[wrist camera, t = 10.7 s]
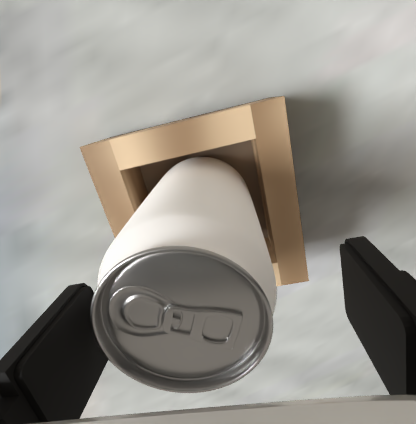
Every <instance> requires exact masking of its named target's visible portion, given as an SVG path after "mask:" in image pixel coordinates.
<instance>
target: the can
mask: <svg viewBox="0 0 416 424" xmlns="http://www.w3.org/2000/svg"><path fill="white" fill-rule="evenodd" d="M276 299H277V287H276V279H275V274H274V270H273V266H272V262H271V259H270V255H269V252H268V249H267V246H266V242H265V239H264V236H263V233H262V230H261V226H260V223H259V220H258V217H257V214H256V211H255V208H254V205H253V202H252V199H251V196H250V193H249V190H248V187H247V185H246V183H245V181H244V179H243V178H242V177H241V175H240V174H239V173H238V172H237V171H236V170H235V169H234V168H233V167H232V166H230V165H229V164H227V163H225V162H223V161H221V160H218V159H215V158H210V157H194V158H190V159H186V160H184V161H182V162H180V163H178V164H176V165H175V166H173V167H172V168H171V169H170V170H169V171H168V172H167V173H166V174H165V175H164V176H163V177H162V179H161V180H160V181H159V182H158V184H157V185H156V186H155V187H154V189H153V190H152V191H151V192H150V194H149V195H148V196H147V197H146V199H145V200H144V201H143V203H142V204H141V205H140V206H139V208H138V209H137V210H136V212H135V213H134V214H133V215H132V217H131V218H130V219H129V221H128V222H127V223H126V225H125V226H124V227H123V229H122V230H121V231H120V232H119V234H118V235H117V237H116V238H115V239H114V241H113V242H112V244H111V245H110V247H109V248H108V250H107V252H106V254H105V256H104V258H103V260H102V263H101V266H100V269H99V274H98V283H97V288H96V290H95V293H94V295H93V298H92V302H91V309H90V320H91V327H92V331H93V334H94V337H95V339H96V342H97V344H98V346H99V347H100V349H101V350H102V352H103V353H104V355H105V356H106V357H107V358H108V359H109V361H110V362H111V363H112V364H113V365H114V366H116V367H117V368H118V369H119V370H120V371H122V372H123V373H124V374H126V375H127V376H129V377H131V378H132V379H134V380H136V381H138V382H140V383H142V384H145V385H147V386H150V387H153V388H156V389H160V390H165V391H170V392H178V393H198V392H206V391H211V390H216V389H219V388H222V387H225V386H228V385H230V384H232V383H234V382H236V381H238V380H240V379H241V378H243V377H244V376H246V375H247V374H248V373H250V372H251V371H252V370H253V369H254V368H255V367H256V366H257V365H258V364H259V363H260V361H261V360H262V359H263V357H264V355H265V354H266V352H267V350H268V348H269V345H270V342H271V339H272V334H273V313H274V310H275V305H276Z"/></svg>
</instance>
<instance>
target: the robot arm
mask: <svg viewBox="0 0 416 424" xmlns="http://www.w3.org/2000/svg"><path fill="white" fill-rule="evenodd" d="M340 256H341V267H342V277H343V288H344V299H345V309H346V314H347V317H348V319H349V321H350V323H351V325H352V326H353V328H354V330H355V332H356V334H357V336H358V337H359V339H360V341H361V343H362V345H363V346H364V348H365V350H366V352H367V354H368V356H369V357H370V359H371V361H372V363H373V365H374V367H375V368H376V370H377V372H378V374H379V376H380V377H381V379H382V381H383V383H384V385H385V387H386V388H387V390H388V392H389V394H390V395H371V396H354V397H339V398H323V399H308V400H295V401H282V402H270V403H257V404H245V405H233V406H220V407H208V408H196V409H185V410H173V411H162V412H150V413H139V414H128V415H116V416H105V417H94V418H84V419H79V418H80V416H81V414H82V412H83V410H84V408H85V406H86V404H87V402H88V400H89V398H90V396H91V394H92V392H93V390H94V388H95V386H96V384H97V382H98V380H99V378H100V376H101V374H102V371H103V369H104V367H105V365H106V363H107V361H108V358H107V357H106V356H105V355H104V353H103V352H102V350H101V349H100V347H99V346H98V344H97V342H96V339H95V337H94V334H93V331H92V327H91V320H90V309H91V302H92V298H93V295H94V292H93V290H92V288H91V287H90V286H87V285H86V284H85V283H81V284H75V285H70V286H68V287H67V288H66V289H65V290H64V291H63V292H62V293H61V294H60V295H59V297H58V298H57V299H56V300H55V301H54V302H53V303H52V304H51V305H50V306H49V307H48V309H47V310H46V311H45V312H44V313H43V314H42V315H41V316H40V317H39V318H38V319H37V321H36V322H35V323H34V324H33V325H32V326H31V327H30V328H29V329H28V330H27V331H26V333H25V334H24V335H23V336H22V337H21V338H20V339H19V340H18V341H17V342H16V343H15V345H14V346H13V347H12V348H11V349H10V350H9V351H8V352H7V353H6V354H5V355H4V357H3V358H2V359H1V360H0V424H416V280H415V279H414V278H413V277H412V276H411V275H410V274H409V273H407V272H406V271H399V270H398V269H397V268H396V267H395V266H394V265H393V264H392V263H391V262H390V261H389V260H388V259H387V258H386V257H385V256H384V255H383V254H382V253H381V252H380V251H379V250H378V249H377V248H376V247H375V246H374V245H373V244H372V243H371V242H370V241H369V240H368V239H367V238H366V237H364V236H362V237H356V238H350V239H346V240H345V244H341V245H340Z"/></svg>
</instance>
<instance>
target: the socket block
mask: <svg viewBox="0 0 416 424" xmlns="http://www.w3.org/2000/svg"><path fill="white" fill-rule="evenodd" d="M80 149H81V152H82V155H83V157H84V160H85V162H86V165H87V167H88V170H89V172H90V175H91V178H92V180H93V183H94V185H95V188H96V190H97V193H98V196H99V198H100V201H101V203H102V206H103V208H104V211H105V214H106V216H107V219H108V221H109V224H110V226H111V229H112V232H113V234H114V237H115V238H116V237H117V235H118V234H119V232H120V231H121V230H122V229H123V227H124V226H125V225H126V223H127V222H128V221H129V219H130V218H131V217H132V215H133V214H134V213H135V212H136V210H137V209H138V208H139V206H140V205H141V204H142V203H143V201H144V200H145V199H146V197H147V196H148V195H149V194H150V192H151V191H152V190H153V189H154V187H155V186H156V185H157V184H158V182H159V181H160V180H161V179H162V177H163V176H164V175H165V174H166V173H167V172H168V171H169V170H170V169H171V168H172V167H173V166H175V165H176V164H178V163H180V162H182V161H184V160H186V159H190V158H194V157H210V158H215V159H218V160H221V161H223V162H225V163H227V164H229V165H230V166H232V167H233V168H234V169H235V170H236V171H237V172H238V173H239V174H240V175H241V177H242V178H243V179H244V181H245V183H246V185H247V187H248V190H249V193H250V196H251V199H252V202H253V205H254V208H255V211H256V214H257V217H258V220H259V223H260V226H261V230H262V233H263V236H264V239H265V242H266V246H267V249H268V252H269V255H270V259H271V262H272V266H273V270H274V274H275V279H276V286H281V285H287V284H293V283H299V282H305V281H309V279H308V271H307V264H306V256H305V249H304V241H303V234H302V226H301V219H300V211H299V203H298V196H297V188H296V181H295V173H294V166H293V158H292V151H291V143H290V136H289V128H288V120H287V113H286V105H285V98H284V96H281V97H271V98H266V99H262V100H258V101H254V102H250V103H246V104H242V105H238V106H234V107H230V108H226V109H222V110H218V111H214V112H210V113H206V114H202V115H198V116H194V117H190V118H186V119H182V120H178V121H174V122H170V123H166V124H162V125H158V126H154V127H150V128H146V129H142V130H138V131H134V132H130V133H126V134H122V135H118V136H114V137H110V138H107V139H104V140H101V141H98V142H94V143H91V144H88V145H85V146H82V147H80Z"/></svg>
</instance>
